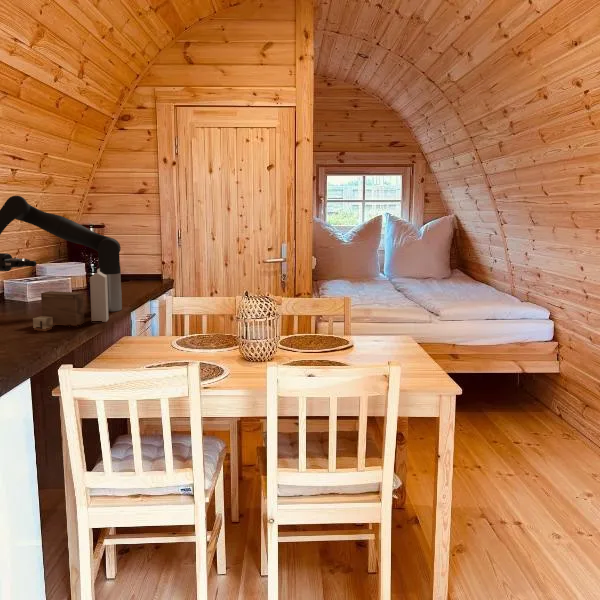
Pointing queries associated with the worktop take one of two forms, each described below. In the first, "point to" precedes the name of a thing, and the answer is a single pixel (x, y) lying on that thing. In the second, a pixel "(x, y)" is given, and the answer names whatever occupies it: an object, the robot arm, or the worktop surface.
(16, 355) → the worktop surface
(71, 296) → the walnut panel
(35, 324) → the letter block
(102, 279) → the milk
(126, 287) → the worktop surface
